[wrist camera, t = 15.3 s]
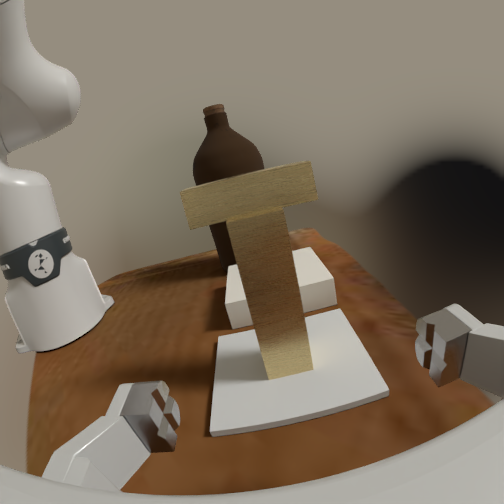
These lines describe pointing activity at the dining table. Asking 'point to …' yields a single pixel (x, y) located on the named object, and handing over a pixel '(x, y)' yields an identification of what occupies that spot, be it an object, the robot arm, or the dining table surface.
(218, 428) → the white mat
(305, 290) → the socket block
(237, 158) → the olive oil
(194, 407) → the dining table surface
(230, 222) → the t key
